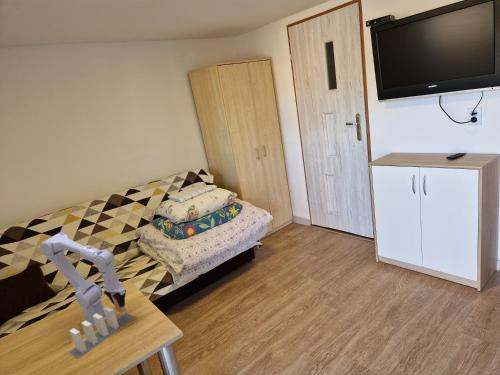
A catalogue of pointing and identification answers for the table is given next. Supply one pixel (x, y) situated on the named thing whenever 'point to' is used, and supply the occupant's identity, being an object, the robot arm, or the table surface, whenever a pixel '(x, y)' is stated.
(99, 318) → the domino
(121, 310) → the domino
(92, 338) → the domino
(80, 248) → the robot arm
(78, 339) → the domino
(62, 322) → the table surface
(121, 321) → the mat
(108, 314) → the domino
